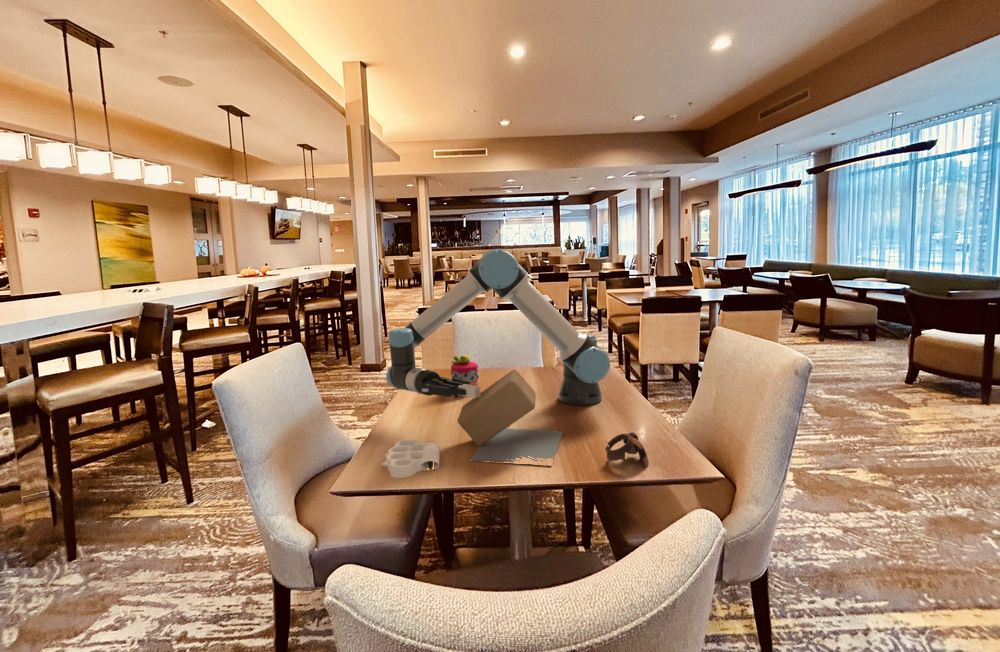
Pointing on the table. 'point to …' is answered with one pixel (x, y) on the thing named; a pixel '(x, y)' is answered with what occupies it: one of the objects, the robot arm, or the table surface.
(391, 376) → the robot arm
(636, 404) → the table surface
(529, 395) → the wooden block
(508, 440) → the rubber mat
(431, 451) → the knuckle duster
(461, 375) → the cake
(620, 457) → the brown hollow looped part
